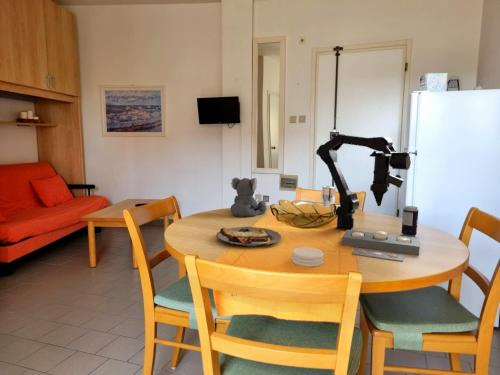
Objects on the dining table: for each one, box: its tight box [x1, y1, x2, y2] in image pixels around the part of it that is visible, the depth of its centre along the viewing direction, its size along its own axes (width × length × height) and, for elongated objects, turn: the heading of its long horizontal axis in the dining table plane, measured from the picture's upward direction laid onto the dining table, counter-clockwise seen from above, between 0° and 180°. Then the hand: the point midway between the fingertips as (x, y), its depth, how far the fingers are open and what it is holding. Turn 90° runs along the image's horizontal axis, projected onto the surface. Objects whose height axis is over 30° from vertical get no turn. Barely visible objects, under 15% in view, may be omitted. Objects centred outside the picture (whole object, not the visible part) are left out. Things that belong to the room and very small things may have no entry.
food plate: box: [215, 226, 282, 248], centre depth 135 cm, size 25×23×4 cm
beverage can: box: [400, 205, 419, 237], centre depth 143 cm, size 6×6×12 cm
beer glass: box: [320, 185, 336, 206], centre depth 178 cm, size 7×7×15 cm
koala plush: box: [229, 177, 267, 218], centre depth 179 cm, size 17×18×20 cm
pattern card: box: [351, 247, 404, 262], centre depth 119 cm, size 16×7×1 cm, turn 66°
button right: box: [397, 237, 410, 243], centre depth 126 cm, size 4×4×3 cm
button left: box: [352, 232, 364, 237], centre depth 132 cm, size 4×4×3 cm
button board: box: [341, 229, 421, 256], centre depth 129 cm, size 26×12×3 cm, turn 66°
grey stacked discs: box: [291, 246, 324, 268], centre depth 111 cm, size 10×10×4 cm
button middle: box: [373, 230, 388, 240], centre depth 129 cm, size 4×4×3 cm
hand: (379, 206), depth 143 cm, fingers closed
